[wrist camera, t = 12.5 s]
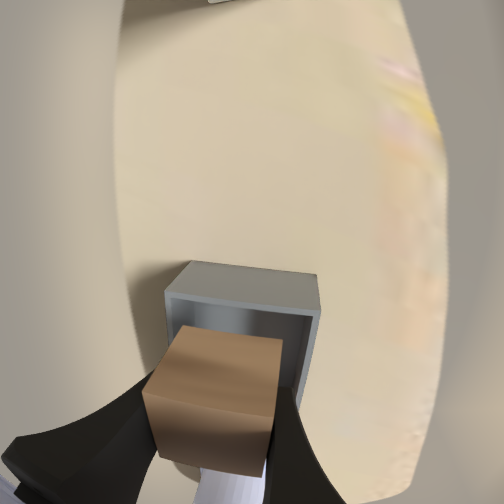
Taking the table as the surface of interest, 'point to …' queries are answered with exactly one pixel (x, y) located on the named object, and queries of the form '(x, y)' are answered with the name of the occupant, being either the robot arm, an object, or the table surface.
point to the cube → (215, 400)
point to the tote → (250, 310)
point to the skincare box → (216, 1)
